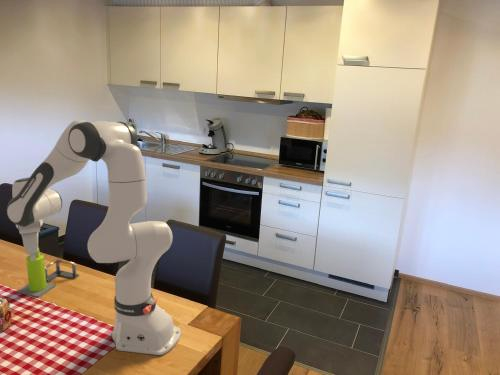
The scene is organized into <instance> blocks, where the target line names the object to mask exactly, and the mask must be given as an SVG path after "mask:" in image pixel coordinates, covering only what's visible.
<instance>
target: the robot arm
mask: <svg viewBox="0 0 500 375" xmlns="http://www.w3.org/2000/svg"><path fill="white" fill-rule="evenodd" d="M137 144H138V134H137V131H136V129H135V127H134V126H132V125H131V124H129V123H127V122H123V121H106V120H96V121H87V120H84V119H77V120H73V121H71V122H70V123H69V124H68V126H67V127H66V128H65V129H64V130H63V132H62V133H61V134H60V136H59V138H58V140H57V141H56V143H55V145H54V147H53V148H52V150H51V151H50V153H49V154H48V155H47V157H46V158H45V159H44V160H43V161H42V162H41V163H40V164H39V165H38V166H37V167H36V169H35V170H34V171H33V172H32V173H31V175H30V176H29V177H23V178H20V179H16V180H15V181H13V183H12V187H11V188H12V189H11V190H12V192H11V193H12V198H11V199H10V200H9V202H8V204H7V207H6V216H7V218H8V220H9V221H10V222H11V223H12V224H14V225H15V227H16V228H17V229H18V233H19V234H20V235H21V238H22V243H23V244H24V246H23V247H24V250H25V253H26V255H28V256H29V255H30V261H35V260H36V253H37V252H38V247H39V233H40V232H41V227H42V225H43V224H44V219H47V218H49V217H51V216H55V215H56V214H58V213H60V212H61V210H62V208H63V199H62V196H61V194H60V193H59V192H58V191H56V190H55V189H53V188H50V187H52V186H53V185H55V184H57V183H59V182H61V181H63V180H65V179H68V178H71V177H73V176H75V175H77V174H79V173H80V172H81V171H82V170H83V169H84V168H85V167H86V166H87V164H88V163H89V160H90V161H92V162H96V163H98V162H99V161H100V160H102V161H103V162H104V163H105V166H106V168H107V184H108V185H107V186H108V208H107V212H106V215H105V217H104V219H103V221H102V222H101V224H100V225H99V226H98V227H97V228H96V229H95V230H94V231H93V232H92V233H91V234H90V235H89V238H88V239H87V240H88V241H87V251H88V255H89V257H90V258H91V259H92V260H93V261H94V262H96V263H99V264H114V263H119V262H125V261H128V262H127V263H126V264H124V265H123V266H122V267H121V268H119V269H118V271H117V272H116V275H115V277H114V290H115V291H114V292H115V295H114V299H113V300H114V303H113V306H114V307H113V308H114V310H115V317H114V318H115V319H114V326H113V330H112V333H111V338H112V340H113V341H114V343H115V349H116V350H117V351H121V352H129V353H130V352H131V353H137V354H148V355H156V356H162V355H163V356H164V355H165V354H166V353H168V352H170V350H172V349H173V348H174V347H175V345H176V344H177V343H178V342H179V340H180V338H181V335H182V332H181V331H182V330H181V328H180V327H179V326H176V325H175V324H174V320H173V318H172V316H171V315H170V314H169V313H168V312H167V311H166V310H165V309H163V308H161V307H160V306H159V305H158V304H157V302H158V300H159V297H158V296H157V297H156V298H154V295H153V293H152V287H151V286H152V285H151V284H152V274H153V271H154V269H155V266H156V265H157V262H158V261H159V260H160V258H161V257H162V255H164V254H165V253H166V252H167V251H168V250H169V249H170V248H171V246H172V243H173V238H174V237H173V231H172V230H171V227H170V226H169V225H168V223H167V222H165V221H161V220H158V221H157V220H154V221H153V220H147V221H139V222H134V223H133V222H132V223H131V220H132V218H133V217H134V216H135V215H137V213H139V212H140V211H142V210H143V209H144V208H145V206H146V205H147V202H148V193H147V191H148V190H147V181H146V180H147V177H146V169H145V168H146V167H145V164H144V163H145V162H144V159H143V155H142V151H141V149H140V148H139V147H138V146H137Z"/></svg>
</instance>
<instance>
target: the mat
mask: <svg viewBox="0 0 500 375" xmlns="http://www.w3.org/2000/svg"><path fill="white" fill-rule="evenodd" d="M46 285H47V287H46V288H45V289H44V290H42V291H37V292H33V291H31V290H30V288H29V283H27V284H26V285H24V286H23V287H20V288H19V289H17V290H16V292H17V293H18V294H23V295H27V296H30V297H35V298H38V299H39V298H40V297H42V296H43V295H45V294H46V293H48V292H50V291H51V290H52V289H54V288H55V287H56V286H57V285H56V284H54V283H50V282H46Z"/></svg>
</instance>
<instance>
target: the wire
mask: <svg viewBox="0 0 500 375" xmlns="http://www.w3.org/2000/svg"><path fill="white" fill-rule="evenodd" d="M60 263H62V264H66V265H71V269H72V272H70V271H65V270H61V265H60ZM54 264H55V271H53V272H51V274H49V275H48V268H49V267H51V266H53V265H54ZM76 266H77V264H76V262H74V261H73V262H72V261H68V260H63V259H55V260H53V261H52V262H50V263H48V264H46V265H45V275H46V283H50V282H51V281H53V280H55V279H56V278H58V277H63V278H68V279H72V280H75V279H77V278H78V277H79V276H80V274H78V273H77V267H76Z"/></svg>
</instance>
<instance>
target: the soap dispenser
mask: <svg viewBox="0 0 500 375" xmlns="http://www.w3.org/2000/svg"><path fill="white" fill-rule="evenodd" d="M22 246H23V247H24V243H23V244H22ZM25 261H26V268H27V277H28V278H27V279H28V284H29V288H30V290H31V291H33V292H37V291H42V290H44V289H45V288H46V287H47V285H46V283H47V282H46V275H45V266H46V265H45V256H44V254H42V253H40V247H39V246H38V252H37V253H36V260H35V261H30V255H29V254H28V255H27V257H25Z"/></svg>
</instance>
